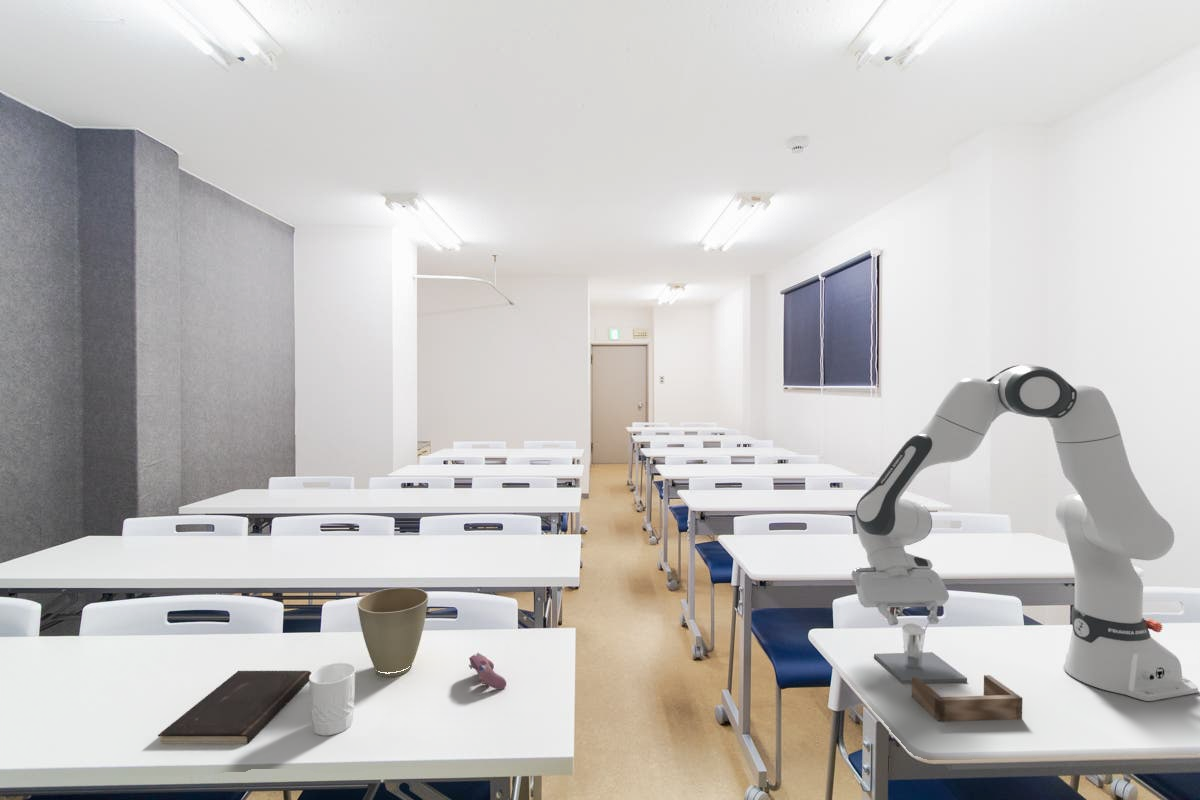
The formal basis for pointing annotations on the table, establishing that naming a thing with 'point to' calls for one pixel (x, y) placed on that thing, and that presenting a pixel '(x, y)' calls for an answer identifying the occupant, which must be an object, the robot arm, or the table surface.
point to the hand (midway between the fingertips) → (914, 623)
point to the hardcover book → (237, 708)
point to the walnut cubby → (970, 702)
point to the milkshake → (913, 644)
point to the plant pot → (393, 627)
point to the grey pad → (928, 673)
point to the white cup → (332, 698)
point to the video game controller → (486, 671)
